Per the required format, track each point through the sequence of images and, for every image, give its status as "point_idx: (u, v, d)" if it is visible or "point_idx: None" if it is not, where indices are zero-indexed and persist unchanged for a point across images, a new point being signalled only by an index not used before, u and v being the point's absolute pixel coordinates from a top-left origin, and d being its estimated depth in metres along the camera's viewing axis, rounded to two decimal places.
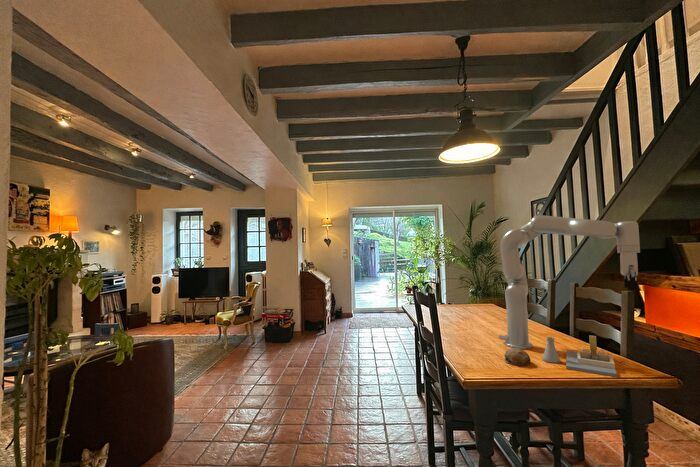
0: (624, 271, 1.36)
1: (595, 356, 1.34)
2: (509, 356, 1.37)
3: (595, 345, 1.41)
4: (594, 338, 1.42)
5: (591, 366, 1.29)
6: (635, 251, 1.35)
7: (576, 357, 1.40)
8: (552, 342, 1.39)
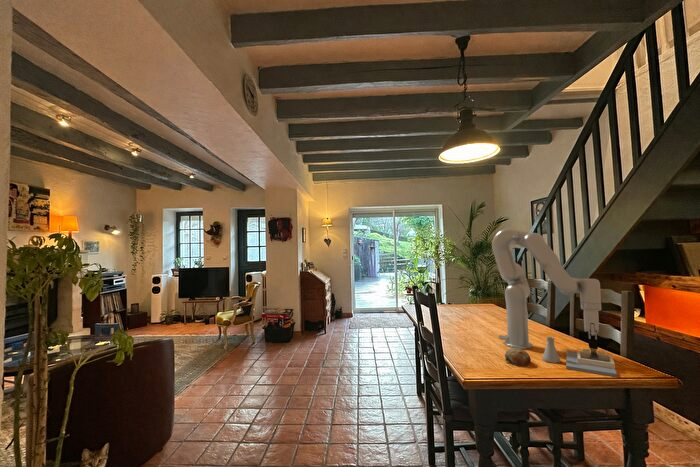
0: (586, 328, 1.41)
1: (595, 356, 1.34)
2: (509, 356, 1.37)
3: None
4: None
5: (591, 366, 1.29)
6: (596, 309, 1.40)
7: (576, 357, 1.40)
8: (552, 342, 1.39)
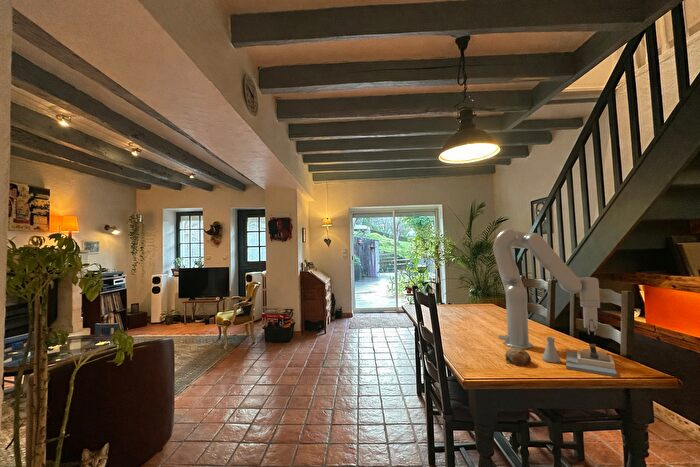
0: (585, 324, 1.48)
1: (594, 351, 1.41)
2: (510, 356, 1.37)
3: None
4: None
5: (591, 366, 1.29)
6: (595, 306, 1.47)
7: (576, 357, 1.40)
8: (552, 342, 1.39)
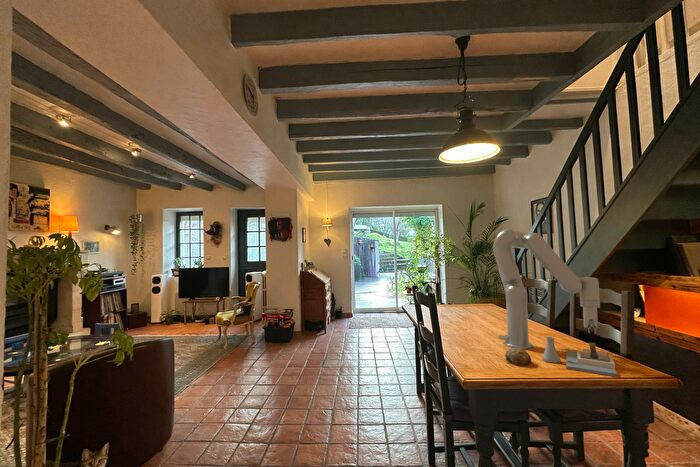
0: (585, 324, 1.48)
1: (594, 351, 1.41)
2: (510, 356, 1.37)
3: None
4: None
5: (591, 366, 1.29)
6: (595, 306, 1.47)
7: (576, 357, 1.40)
8: (552, 342, 1.39)
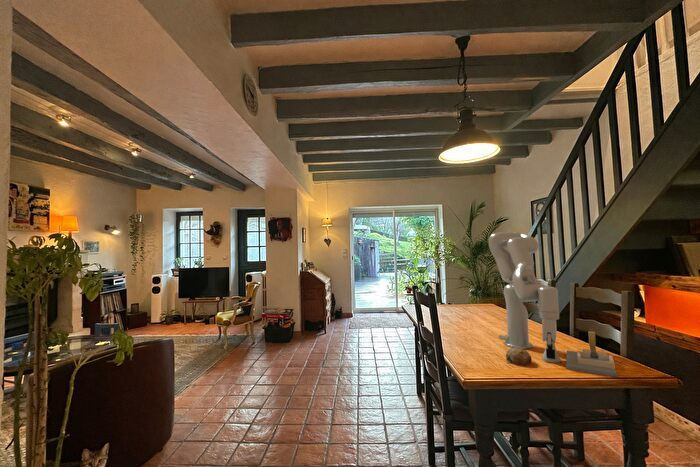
0: (543, 338, 1.38)
1: (594, 351, 1.41)
2: (510, 356, 1.38)
3: (594, 340, 1.48)
4: (593, 334, 1.49)
5: (591, 366, 1.29)
6: (553, 318, 1.37)
7: (576, 357, 1.40)
8: None
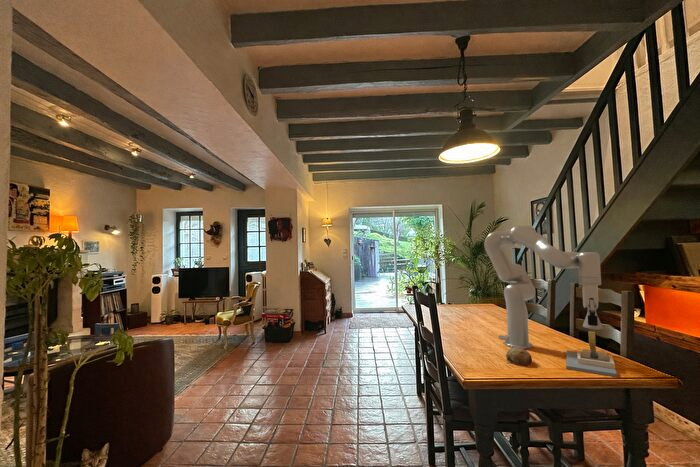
0: (585, 304, 1.33)
1: (594, 351, 1.41)
2: (511, 355, 1.38)
3: (594, 340, 1.48)
4: (593, 334, 1.49)
5: (591, 366, 1.29)
6: (596, 283, 1.32)
7: (576, 357, 1.40)
8: None
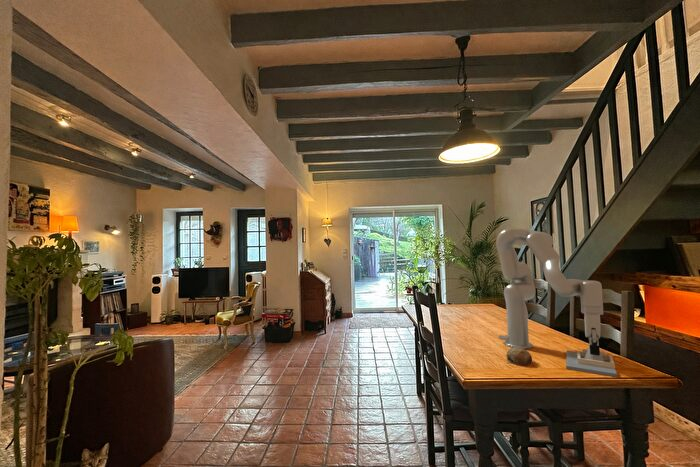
0: (587, 333, 1.32)
1: None
2: (511, 355, 1.38)
3: None
4: None
5: (591, 366, 1.29)
6: (598, 313, 1.32)
7: (576, 357, 1.40)
8: None
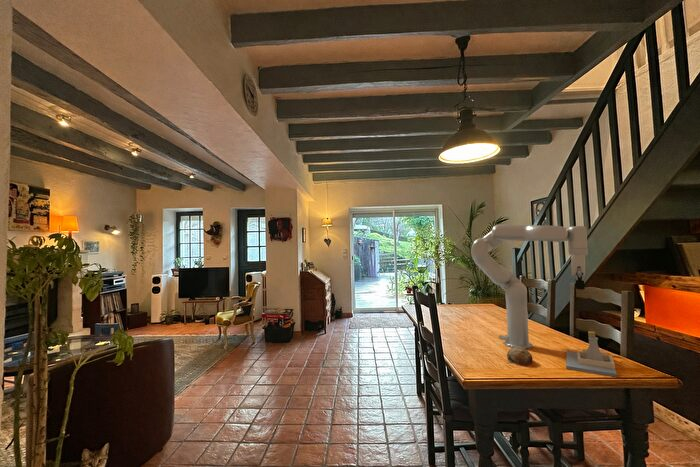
0: (573, 272, 1.48)
1: None
2: (511, 355, 1.38)
3: None
4: (593, 334, 1.49)
5: (591, 366, 1.29)
6: (583, 253, 1.47)
7: (576, 357, 1.40)
8: (595, 342, 1.34)
